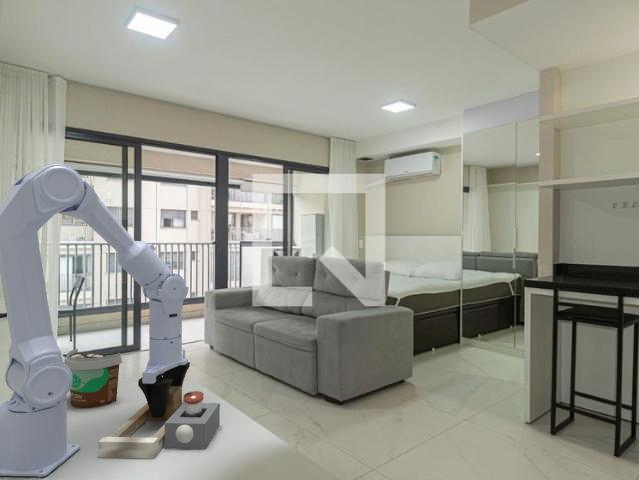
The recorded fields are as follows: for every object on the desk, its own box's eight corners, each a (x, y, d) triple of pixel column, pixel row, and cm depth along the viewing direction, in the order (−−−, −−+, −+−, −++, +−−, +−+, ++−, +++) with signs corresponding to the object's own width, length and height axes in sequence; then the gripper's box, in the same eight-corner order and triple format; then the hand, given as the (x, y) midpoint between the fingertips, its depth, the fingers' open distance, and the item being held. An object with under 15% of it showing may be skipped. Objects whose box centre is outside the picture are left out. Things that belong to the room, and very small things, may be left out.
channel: (98, 457, 61) (98, 441, 61) (151, 408, 79) (151, 395, 79) (153, 458, 61) (153, 442, 61) (194, 408, 79) (194, 396, 79)
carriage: (148, 421, 74) (148, 392, 74) (158, 411, 78) (158, 384, 78) (173, 421, 74) (173, 392, 74) (181, 412, 78) (181, 384, 78)
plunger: (180, 427, 66) (180, 398, 66) (187, 418, 70) (187, 391, 70) (199, 427, 66) (199, 398, 66) (206, 419, 69) (206, 391, 69)
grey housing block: (164, 448, 64) (164, 423, 64) (183, 425, 72) (183, 402, 72) (204, 449, 64) (204, 424, 64) (219, 425, 72) (219, 403, 72)
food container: (48, 406, 80) (48, 356, 80) (75, 395, 86) (75, 348, 86) (97, 414, 77) (97, 361, 77) (122, 401, 82) (122, 353, 82)
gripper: (171, 346, 68) (171, 426, 68) (199, 328, 83) (199, 394, 83) (130, 346, 69) (130, 426, 69) (165, 327, 83) (165, 393, 83)
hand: (165, 408), depth 76 cm, fingers open, 6 cm apart
